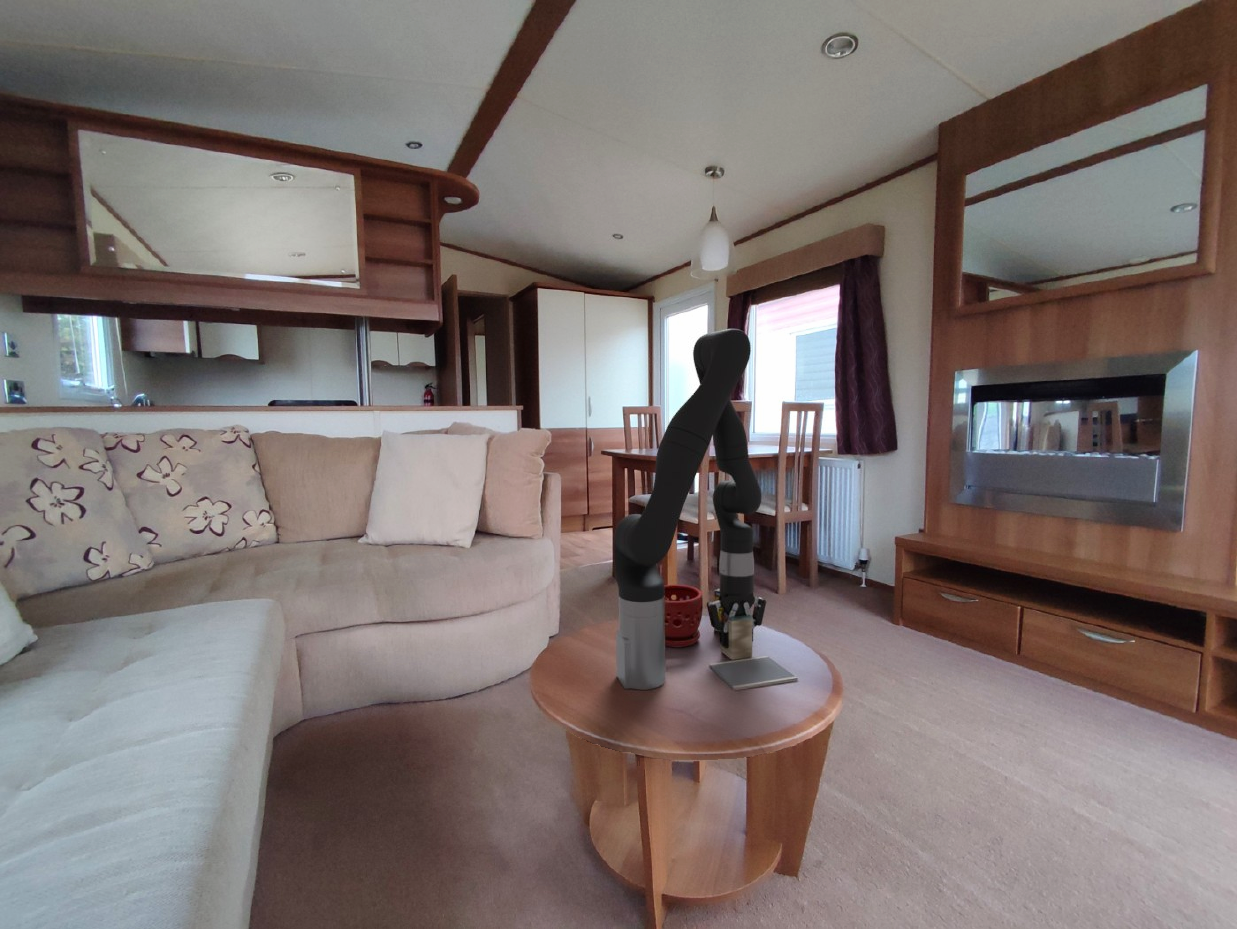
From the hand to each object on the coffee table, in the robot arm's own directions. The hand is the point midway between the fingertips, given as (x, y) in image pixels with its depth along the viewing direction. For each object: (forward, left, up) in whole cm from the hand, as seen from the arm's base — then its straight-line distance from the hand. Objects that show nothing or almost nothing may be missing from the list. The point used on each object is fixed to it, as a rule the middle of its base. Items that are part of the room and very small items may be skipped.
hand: (736, 645), depth 115 cm
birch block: (0, 0, -2) cm, 2 cm away
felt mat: (-1, -9, -2) cm, 9 cm away
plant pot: (-10, +12, -2) cm, 16 cm away
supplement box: (+5, +13, -2) cm, 14 cm away
